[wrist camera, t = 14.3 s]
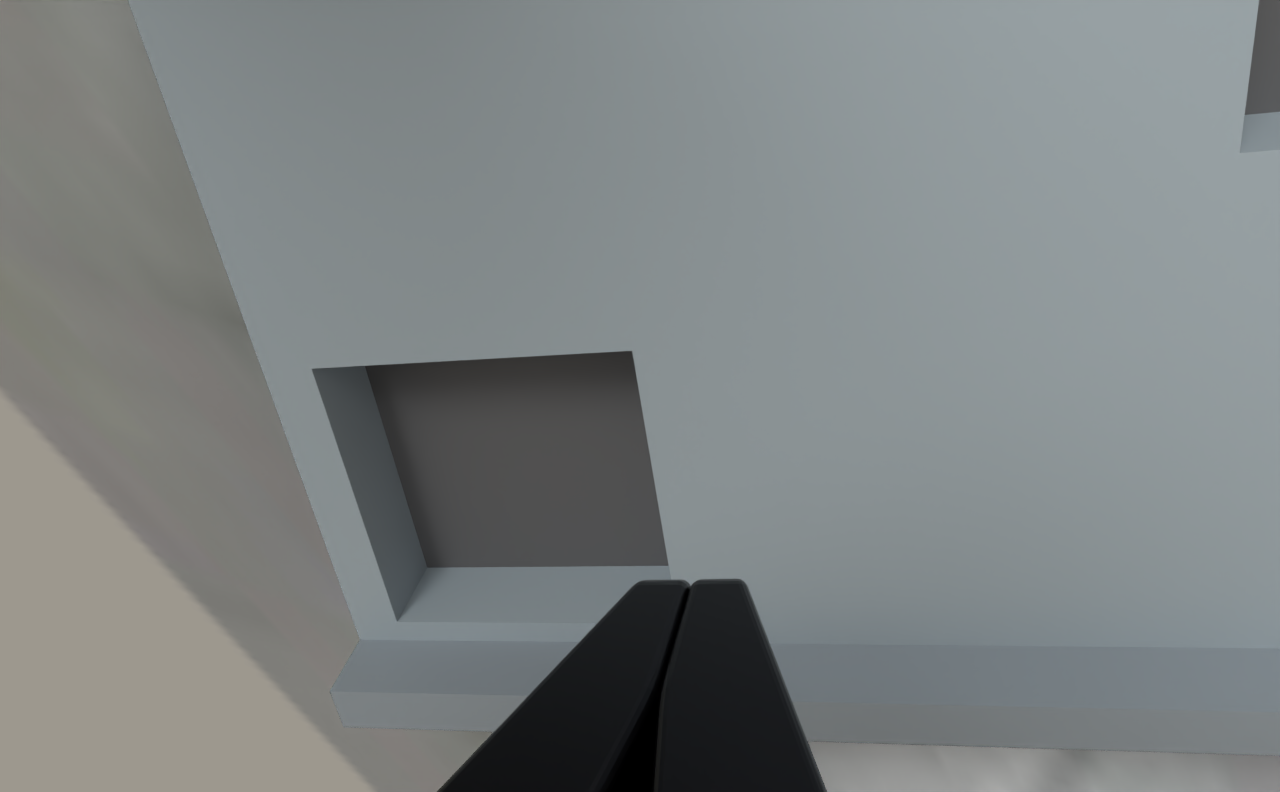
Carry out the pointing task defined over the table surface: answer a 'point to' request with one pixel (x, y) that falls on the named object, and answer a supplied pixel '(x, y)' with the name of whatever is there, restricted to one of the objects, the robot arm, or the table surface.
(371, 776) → the table surface
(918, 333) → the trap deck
